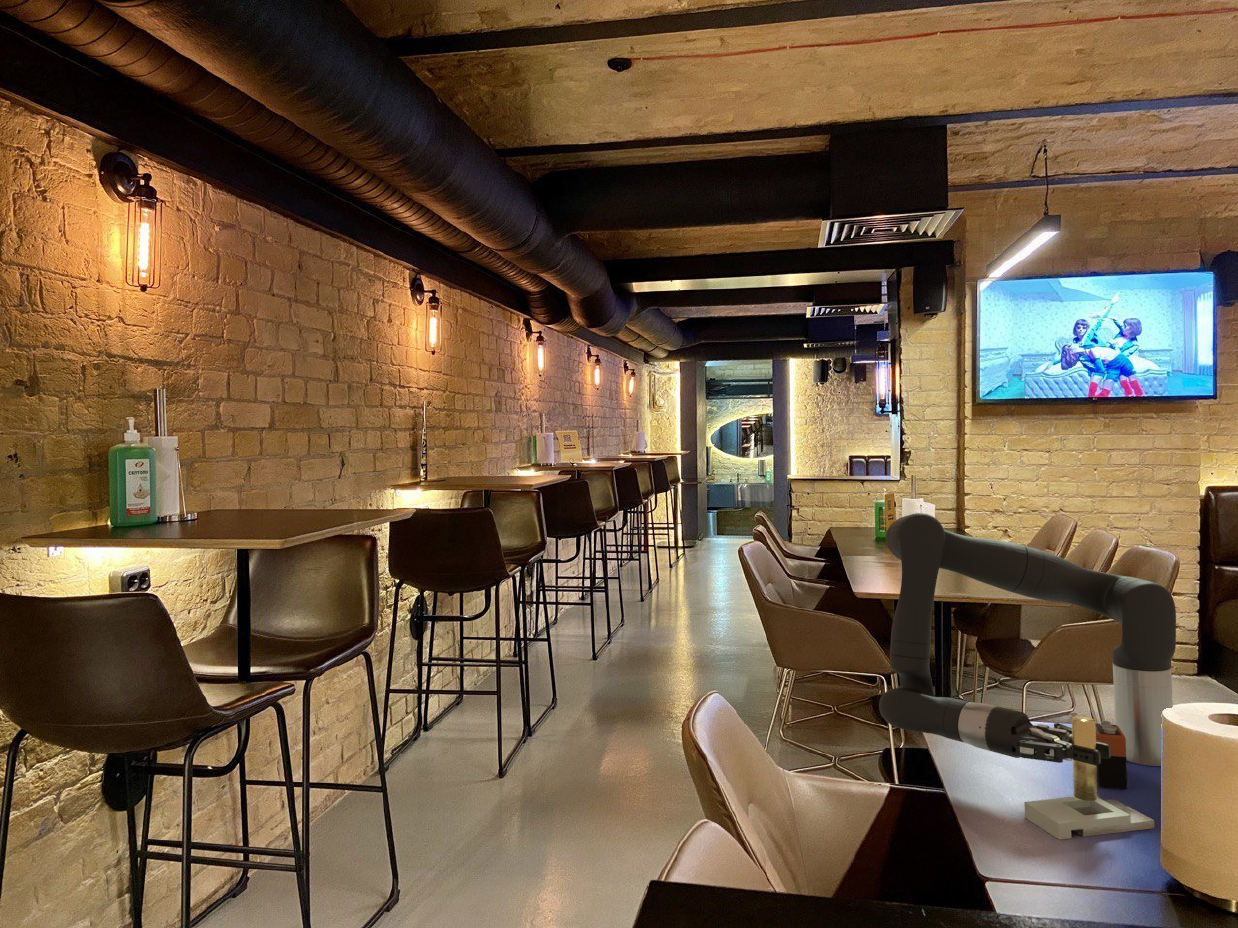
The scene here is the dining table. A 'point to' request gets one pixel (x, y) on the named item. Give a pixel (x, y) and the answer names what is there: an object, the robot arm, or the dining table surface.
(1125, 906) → the dining table surface
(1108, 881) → the dining table surface
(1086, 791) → the pin
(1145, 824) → the chain end lower
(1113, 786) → the battery
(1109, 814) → the plate with square hole
